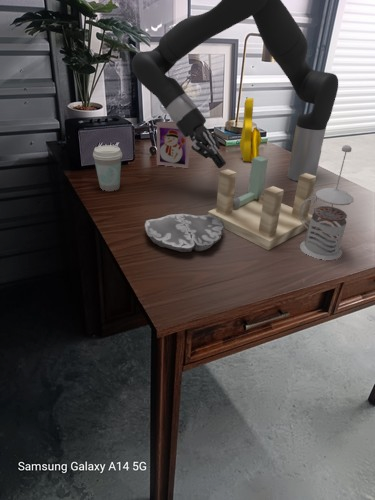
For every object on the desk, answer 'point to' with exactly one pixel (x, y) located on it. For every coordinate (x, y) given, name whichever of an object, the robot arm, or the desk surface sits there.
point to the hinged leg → (254, 182)
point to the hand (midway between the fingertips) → (222, 166)
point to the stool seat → (264, 211)
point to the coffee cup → (108, 166)
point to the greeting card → (171, 145)
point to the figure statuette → (249, 134)
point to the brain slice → (185, 231)
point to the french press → (322, 242)
